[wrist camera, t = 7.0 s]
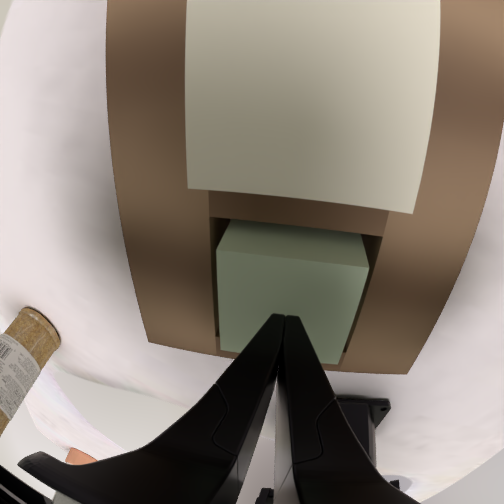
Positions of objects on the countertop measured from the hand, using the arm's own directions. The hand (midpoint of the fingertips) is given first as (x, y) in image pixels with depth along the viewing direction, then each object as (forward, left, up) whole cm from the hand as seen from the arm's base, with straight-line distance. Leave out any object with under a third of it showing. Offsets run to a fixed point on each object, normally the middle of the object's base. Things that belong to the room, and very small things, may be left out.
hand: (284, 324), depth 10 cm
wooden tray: (+7, 0, -4) cm, 8 cm away
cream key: (+7, 0, -2) cm, 7 cm away
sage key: (0, 0, -3) cm, 3 cm away
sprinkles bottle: (-10, +19, -5) cm, 22 cm away
